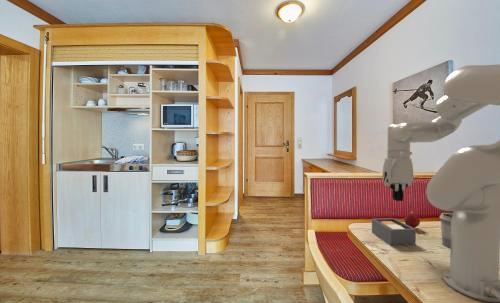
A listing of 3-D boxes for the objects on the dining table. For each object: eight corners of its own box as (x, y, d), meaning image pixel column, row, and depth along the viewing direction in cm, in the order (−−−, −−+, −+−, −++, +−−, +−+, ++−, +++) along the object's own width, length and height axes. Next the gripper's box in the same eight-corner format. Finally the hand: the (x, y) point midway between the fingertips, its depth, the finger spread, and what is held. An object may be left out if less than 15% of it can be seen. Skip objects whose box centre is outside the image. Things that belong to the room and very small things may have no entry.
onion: (414, 232, 98) (415, 214, 98) (401, 227, 103) (401, 210, 103) (422, 229, 100) (422, 212, 100) (408, 225, 106) (409, 209, 105)
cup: (467, 251, 81) (468, 219, 80) (446, 249, 82) (447, 218, 81) (453, 242, 88) (454, 212, 87) (434, 241, 89) (435, 212, 88)
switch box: (415, 244, 86) (415, 229, 86) (390, 245, 86) (390, 230, 86) (393, 231, 99) (393, 218, 98) (371, 232, 98) (371, 218, 98)
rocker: (405, 231, 88) (405, 228, 88) (393, 232, 88) (393, 228, 88) (391, 224, 96) (391, 221, 96) (380, 224, 96) (380, 221, 96)
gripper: (409, 154, 92) (409, 197, 92) (374, 154, 91) (373, 198, 92) (424, 155, 84) (423, 202, 85) (385, 156, 84) (385, 203, 85)
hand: (397, 200), depth 88 cm, fingers closed
